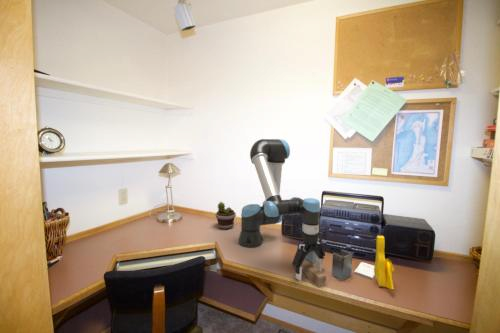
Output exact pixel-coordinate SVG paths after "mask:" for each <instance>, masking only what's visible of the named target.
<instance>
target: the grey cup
mask: <svg viewBox="0 0 500 333" xmlns="http://www.w3.org/2000/svg"><path fill="white" fill-rule="evenodd" d="M353 254H354V253H351V252H349V251H347V250H344V249H341V250H340V255H339V254H338V253H335V252H333V253H332V265H331V269H332V270H331V276H333V277H335V278H337V280H340V281H345V280H347V279H348V278H350V277H352V271H353V269H352V268H353Z"/></svg>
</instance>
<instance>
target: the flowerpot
mask: <svg viewBox="0 0 500 333" xmlns="http://www.w3.org/2000/svg"><path fill="white" fill-rule="evenodd" d="M225 204H226V203H224V202H223V201H221V202H219V203H218V204H217V211H216V213H215V218H216V220H217V226H218V228H219V229H221V230H230V229H232V228H233V227H234V225H235V218H236V216H237V213H236V212H235V211H234V209H232V208H231V207H230V206H228V207H226V205H225Z"/></svg>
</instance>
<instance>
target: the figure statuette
mask: <svg viewBox="0 0 500 333" xmlns="http://www.w3.org/2000/svg"><path fill="white" fill-rule="evenodd" d="M375 242H376V248H375V249H376V252H375V262H374V266H375V267H374V274H375V276H374V278H375V280H376V282H377V284H378V286H379V287H384V288H387V289H389V290H395V287H394V283H393V281H394V280H393V273H394V271H395V267H394V264H393V263H392V261H391V260H390V258H389V257H388V258H386V257H385V256H386V255H385V254H386V253H385V248H386V244H385V243H386V240H385V236H384V235H376V241H375Z"/></svg>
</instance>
